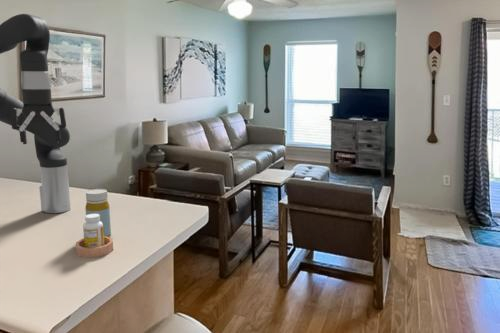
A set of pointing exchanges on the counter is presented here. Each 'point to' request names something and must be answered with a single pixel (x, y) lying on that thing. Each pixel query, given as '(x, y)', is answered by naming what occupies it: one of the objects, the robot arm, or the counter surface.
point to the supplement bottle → (93, 231)
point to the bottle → (99, 207)
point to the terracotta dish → (96, 250)
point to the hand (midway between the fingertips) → (41, 143)
